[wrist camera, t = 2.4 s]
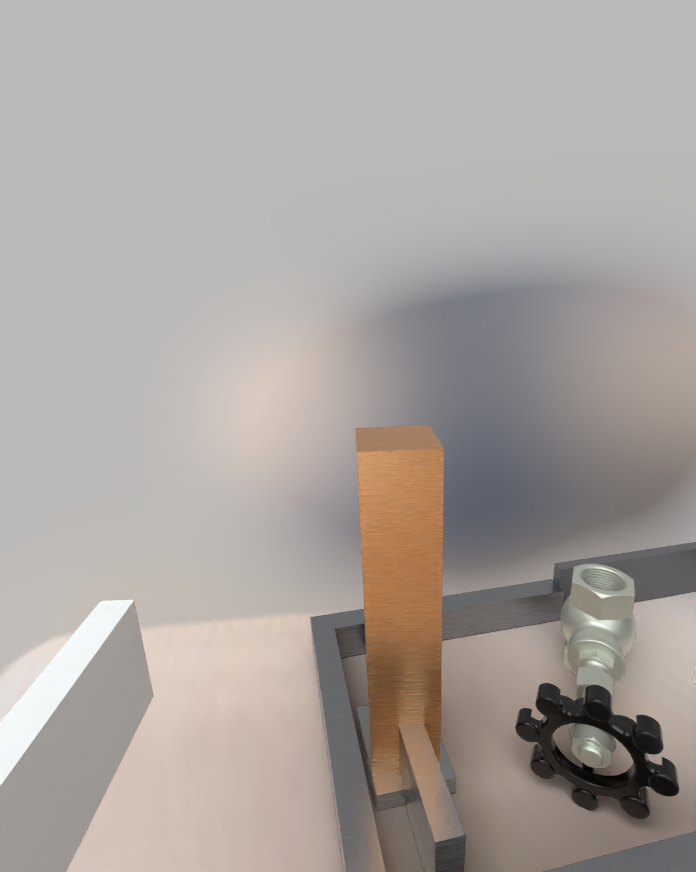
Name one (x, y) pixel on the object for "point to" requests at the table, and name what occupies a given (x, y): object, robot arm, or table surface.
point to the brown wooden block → (406, 635)
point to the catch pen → (643, 571)
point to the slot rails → (461, 616)
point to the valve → (597, 700)
